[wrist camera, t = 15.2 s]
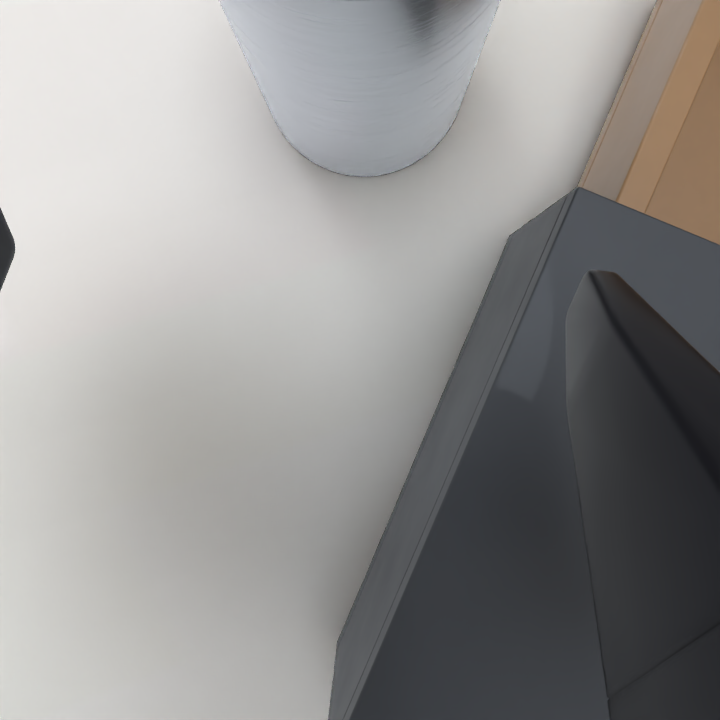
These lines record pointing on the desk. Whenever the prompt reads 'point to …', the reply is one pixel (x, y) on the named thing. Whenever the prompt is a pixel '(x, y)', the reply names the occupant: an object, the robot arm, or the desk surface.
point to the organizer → (510, 491)
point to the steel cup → (362, 73)
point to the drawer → (667, 123)
